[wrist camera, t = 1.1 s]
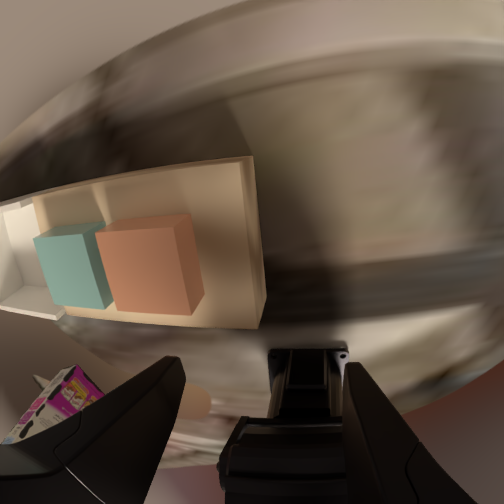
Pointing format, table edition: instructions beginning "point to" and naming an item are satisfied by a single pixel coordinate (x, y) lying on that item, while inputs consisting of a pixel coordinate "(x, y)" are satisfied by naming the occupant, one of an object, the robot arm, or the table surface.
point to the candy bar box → (56, 403)
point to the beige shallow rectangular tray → (204, 225)
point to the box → (23, 261)
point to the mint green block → (74, 266)
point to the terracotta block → (152, 264)
